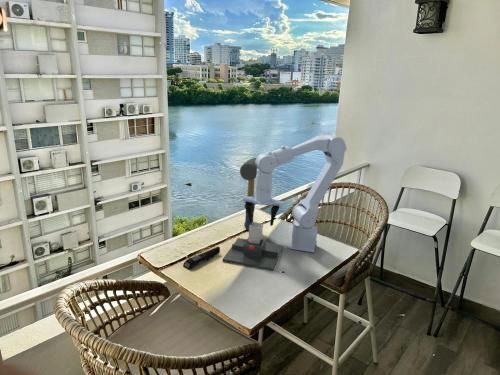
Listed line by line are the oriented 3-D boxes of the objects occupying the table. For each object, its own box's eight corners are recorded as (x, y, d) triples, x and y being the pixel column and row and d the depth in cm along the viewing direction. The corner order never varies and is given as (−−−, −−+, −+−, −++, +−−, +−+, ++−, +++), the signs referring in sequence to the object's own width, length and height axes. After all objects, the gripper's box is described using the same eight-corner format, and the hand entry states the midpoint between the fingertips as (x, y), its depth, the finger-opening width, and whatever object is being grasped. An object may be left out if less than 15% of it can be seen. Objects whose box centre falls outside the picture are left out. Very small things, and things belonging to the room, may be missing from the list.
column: (261, 243, 131) (263, 223, 128) (258, 248, 127) (260, 227, 124) (251, 242, 131) (252, 221, 129) (248, 246, 128) (249, 226, 125)
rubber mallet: (244, 222, 158) (248, 155, 149) (261, 224, 156) (265, 157, 147) (235, 233, 147) (238, 161, 138) (253, 236, 145) (257, 163, 136)
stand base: (283, 247, 136) (284, 235, 135) (273, 271, 120) (274, 257, 118) (238, 240, 141) (238, 228, 139) (222, 261, 124) (222, 248, 123)
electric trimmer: (222, 255, 129) (223, 247, 128) (189, 271, 117) (189, 262, 116) (215, 252, 131) (215, 244, 130) (182, 267, 120) (182, 258, 119)
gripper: (240, 188, 126) (239, 224, 130) (281, 193, 122) (278, 230, 126) (246, 183, 132) (244, 217, 136) (285, 187, 129) (282, 222, 133)
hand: (261, 223), depth 132 cm, fingers open, 7 cm apart
